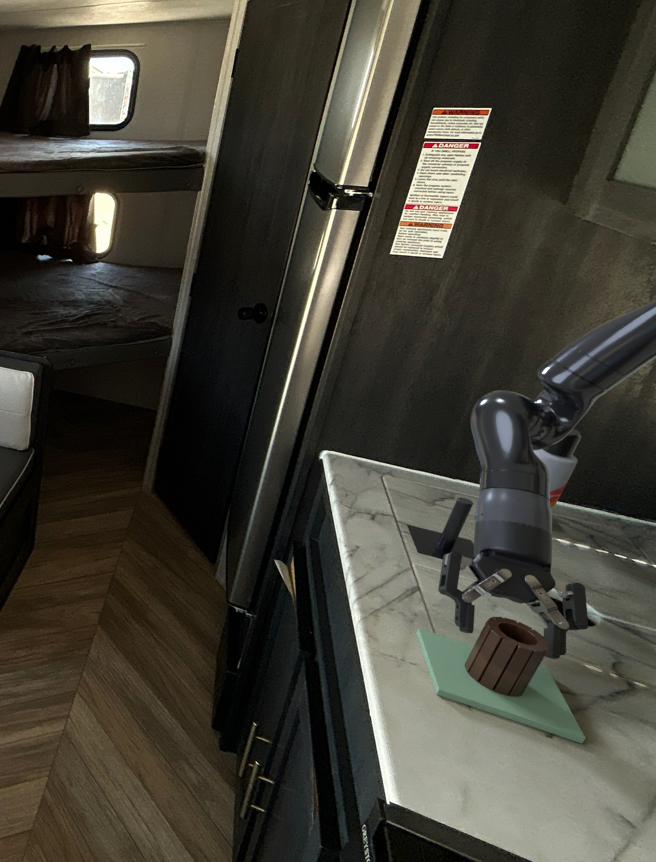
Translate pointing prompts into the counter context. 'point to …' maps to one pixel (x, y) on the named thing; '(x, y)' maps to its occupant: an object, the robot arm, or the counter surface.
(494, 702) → the mat
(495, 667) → the brown grooved hollow cylinder
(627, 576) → the counter surface
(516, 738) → the counter surface
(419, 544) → the peg stand
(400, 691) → the counter surface
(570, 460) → the lotion bottle
